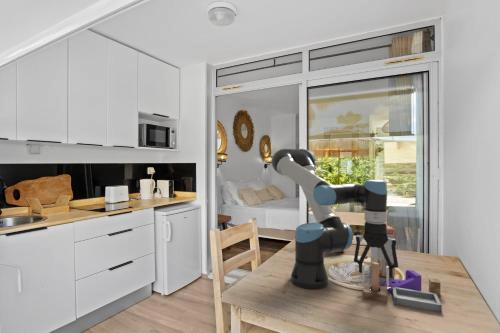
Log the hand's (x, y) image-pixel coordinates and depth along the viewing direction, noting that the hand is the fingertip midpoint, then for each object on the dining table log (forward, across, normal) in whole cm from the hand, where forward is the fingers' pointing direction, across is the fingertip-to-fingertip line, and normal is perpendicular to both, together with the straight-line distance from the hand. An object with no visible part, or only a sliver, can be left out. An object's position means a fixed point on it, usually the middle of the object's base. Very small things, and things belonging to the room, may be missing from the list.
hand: (375, 283), depth 105 cm
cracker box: (+5, +3, +27) cm, 28 cm away
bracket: (+5, +9, +10) cm, 15 cm away
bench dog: (+5, +20, +11) cm, 24 cm away
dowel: (+5, 0, 0) cm, 5 cm away
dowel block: (+5, 0, 0) cm, 5 cm away
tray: (+5, +13, 0) cm, 14 cm away
